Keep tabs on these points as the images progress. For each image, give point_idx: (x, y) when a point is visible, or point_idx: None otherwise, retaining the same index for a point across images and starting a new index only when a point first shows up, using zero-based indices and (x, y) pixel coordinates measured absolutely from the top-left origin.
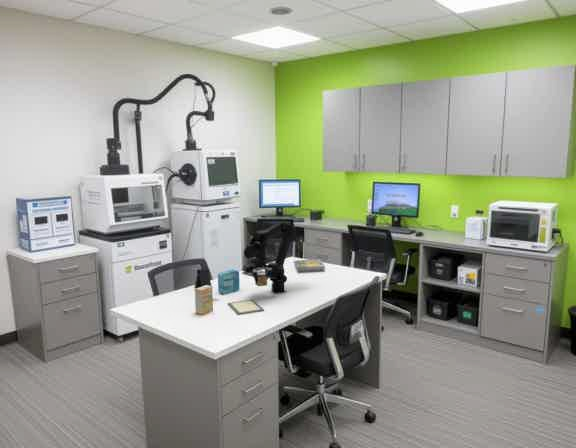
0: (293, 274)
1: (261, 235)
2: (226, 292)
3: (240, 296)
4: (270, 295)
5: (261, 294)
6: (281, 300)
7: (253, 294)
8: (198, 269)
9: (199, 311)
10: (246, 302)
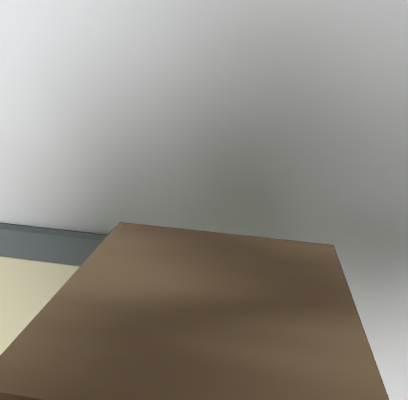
0: None
1: None
2: None
3: (15, 7)
4: (399, 173)
5: (312, 65)
6: (397, 386)
7: (207, 4)
8: None
9: None
10: (23, 293)
